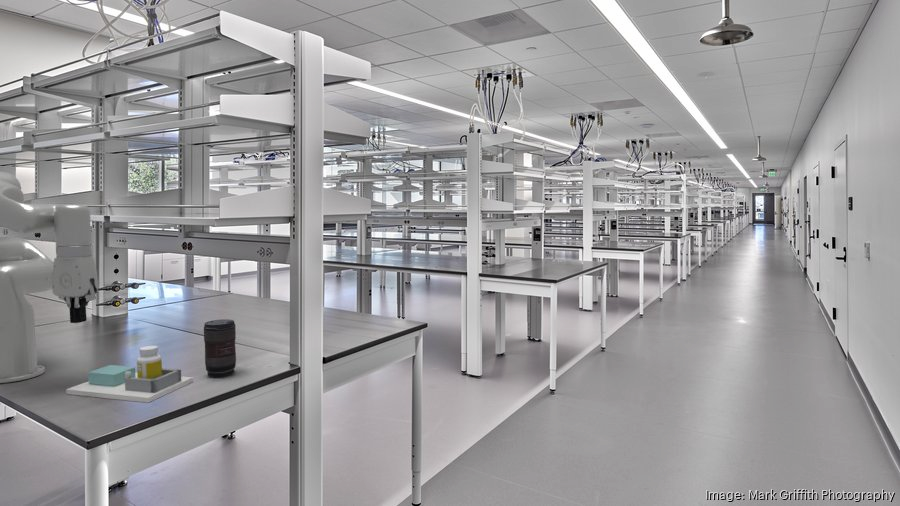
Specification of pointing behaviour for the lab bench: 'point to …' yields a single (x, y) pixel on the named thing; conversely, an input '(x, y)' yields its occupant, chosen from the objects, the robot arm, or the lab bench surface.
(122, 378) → the block
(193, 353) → the lab bench surface
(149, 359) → the supplement bottle
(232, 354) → the camera lens
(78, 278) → the robot arm
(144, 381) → the board
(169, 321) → the lab bench surface
